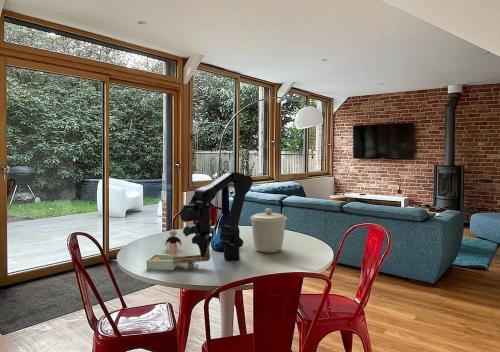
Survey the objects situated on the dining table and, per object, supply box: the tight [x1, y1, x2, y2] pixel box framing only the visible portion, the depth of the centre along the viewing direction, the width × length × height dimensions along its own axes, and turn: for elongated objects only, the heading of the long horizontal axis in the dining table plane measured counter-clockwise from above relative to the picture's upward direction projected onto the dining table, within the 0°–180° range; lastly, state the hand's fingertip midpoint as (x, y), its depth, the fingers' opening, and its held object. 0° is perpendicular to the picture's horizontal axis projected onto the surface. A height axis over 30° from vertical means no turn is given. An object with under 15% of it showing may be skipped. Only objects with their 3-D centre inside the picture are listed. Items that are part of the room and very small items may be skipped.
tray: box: [146, 253, 180, 271], centre depth 158 cm, size 11×9×4 cm
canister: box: [250, 207, 288, 254], centre depth 184 cm, size 18×18×21 cm
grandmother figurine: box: [164, 229, 183, 255], centre depth 174 cm, size 8×4×13 cm, turn 105°
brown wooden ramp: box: [172, 245, 211, 265], centre depth 157 cm, size 16×5×6 cm, turn 86°
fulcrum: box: [182, 262, 199, 271], centre depth 157 cm, size 5×6×2 cm
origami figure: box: [164, 241, 182, 252], centre depth 187 cm, size 12×8×5 cm
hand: (204, 255), depth 157 cm, fingers closed on brown wooden ramp, 4 cm apart
